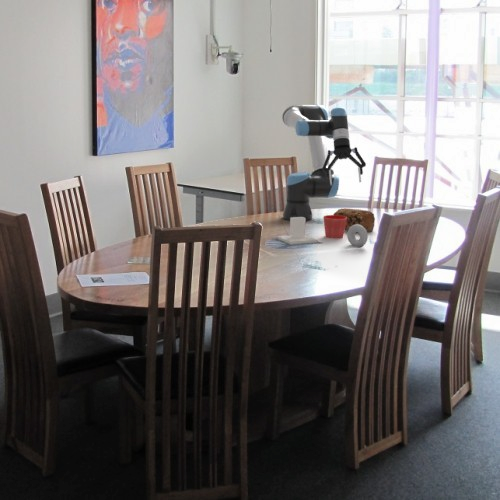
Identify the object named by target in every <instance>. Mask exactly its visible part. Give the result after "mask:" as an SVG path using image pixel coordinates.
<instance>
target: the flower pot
mask: <svg viewBox="0 0 500 500" xmlns="http://www.w3.org/2000/svg"><path fill="white" fill-rule="evenodd" d="M322 218H323V227H324V234H325V235H324V236H325V238H328V239H344V236H345V231H346V230H345V226H346V221H347V217H345V216H340V215H333V214H329V215H328V214H327V215H323V217H322Z"/></svg>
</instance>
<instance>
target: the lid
mask: <svg viewBox="0 0 500 500" xmlns="http://www.w3.org/2000/svg"><path fill="white" fill-rule="evenodd" d="M306 221H307V220H306V218H304V217H292V218H290V220H289V235H287V234H286V235H278V236H277V238H278V239H279V240H282V241H284V242H286V243H289V244H303V243H315V242H317V241H318V239H317V238H315V237H312V236H309V235H307V234H306Z"/></svg>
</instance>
